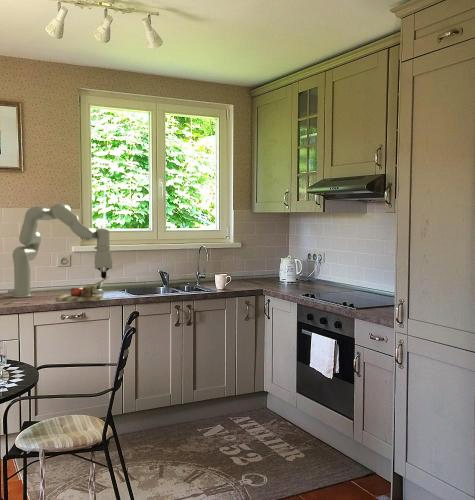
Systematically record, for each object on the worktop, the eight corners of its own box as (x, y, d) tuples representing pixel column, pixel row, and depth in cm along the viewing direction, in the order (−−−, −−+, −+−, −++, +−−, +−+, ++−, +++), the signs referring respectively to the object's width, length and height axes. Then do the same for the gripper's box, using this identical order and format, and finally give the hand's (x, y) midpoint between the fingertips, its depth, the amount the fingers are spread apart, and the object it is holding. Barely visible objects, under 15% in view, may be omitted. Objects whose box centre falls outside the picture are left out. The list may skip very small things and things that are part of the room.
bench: (56, 301, 338) (56, 287, 337) (62, 297, 352) (62, 285, 351) (98, 301, 339) (98, 287, 339) (102, 297, 353) (102, 285, 353)
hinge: (91, 293, 374) (96, 279, 374) (98, 295, 375) (103, 281, 375) (89, 296, 357) (95, 282, 357) (96, 299, 358) (102, 284, 358)
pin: (70, 296, 343) (70, 288, 342) (72, 295, 348) (72, 287, 347) (102, 296, 344) (102, 288, 343) (103, 295, 349) (103, 287, 348)
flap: (90, 286, 340) (106, 277, 341) (93, 284, 350) (108, 275, 351) (91, 287, 341) (107, 279, 341) (94, 285, 350) (109, 277, 351)
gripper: (89, 249, 340) (90, 279, 341) (114, 248, 341) (115, 278, 342) (92, 248, 348) (92, 277, 349) (116, 248, 349) (117, 277, 350)
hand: (103, 278), depth 346 cm, fingers closed
